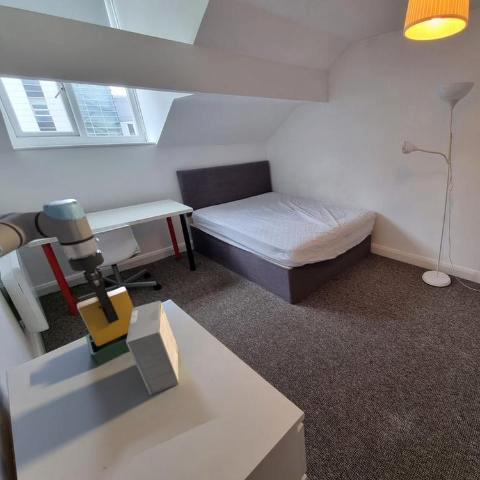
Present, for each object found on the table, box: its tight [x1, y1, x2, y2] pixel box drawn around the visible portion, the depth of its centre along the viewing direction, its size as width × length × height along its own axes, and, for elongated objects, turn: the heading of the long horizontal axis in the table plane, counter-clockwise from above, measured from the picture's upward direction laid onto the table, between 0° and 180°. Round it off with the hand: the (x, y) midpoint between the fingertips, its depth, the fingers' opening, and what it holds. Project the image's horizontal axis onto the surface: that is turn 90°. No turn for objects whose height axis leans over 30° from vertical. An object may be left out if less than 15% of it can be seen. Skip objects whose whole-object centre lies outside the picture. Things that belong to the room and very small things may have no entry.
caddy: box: [85, 333, 130, 368], centre depth 92 cm, size 12×16×5 cm
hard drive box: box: [126, 300, 180, 396], centre depth 78 cm, size 16×8×20 cm, turn 27°
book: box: [76, 286, 135, 346], centre depth 86 cm, size 4×12×15 cm, turn 135°
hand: (112, 317), depth 87 cm, fingers closed on book, 3 cm apart
